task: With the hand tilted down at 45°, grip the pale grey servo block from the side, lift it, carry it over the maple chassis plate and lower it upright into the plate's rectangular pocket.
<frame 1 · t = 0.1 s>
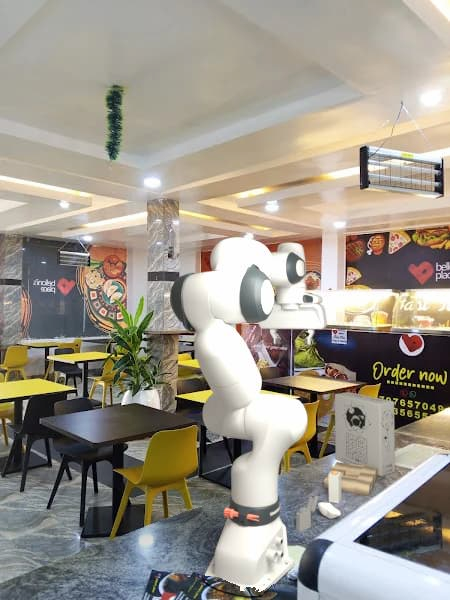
hand: (292, 344, 140), 48 cm above the counter, tool pointing down, fingers open, 8 cm apart
servo: (335, 499, 144), on the counter
dumpling: (329, 517, 133), on the counter
chassis: (351, 482, 157), on the counter
cereal box: (364, 466, 173), on the counter
lighter: (307, 527, 127), on the counter
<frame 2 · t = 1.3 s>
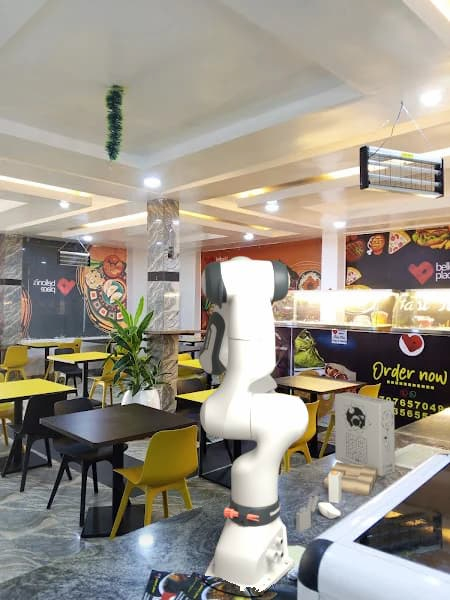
hand: (273, 406, 153), 27 cm above the counter, tool tilted 45°, fingers open, 8 cm apart
nothing on the counter moved.
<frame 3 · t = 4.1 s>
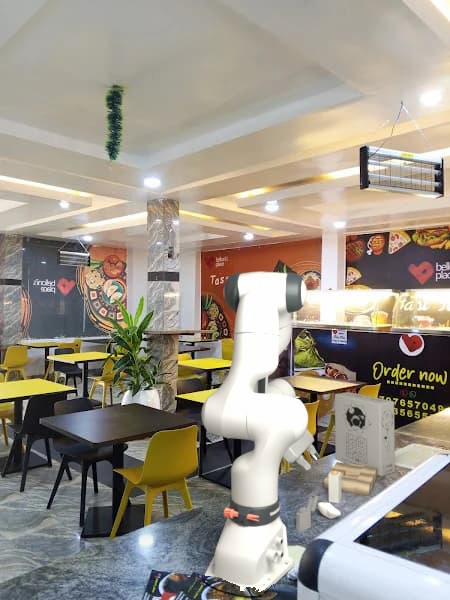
hand: (313, 463, 147), 10 cm above the counter, tool tilted 45°, fingers open, 8 cm apart
nothing on the counter moved.
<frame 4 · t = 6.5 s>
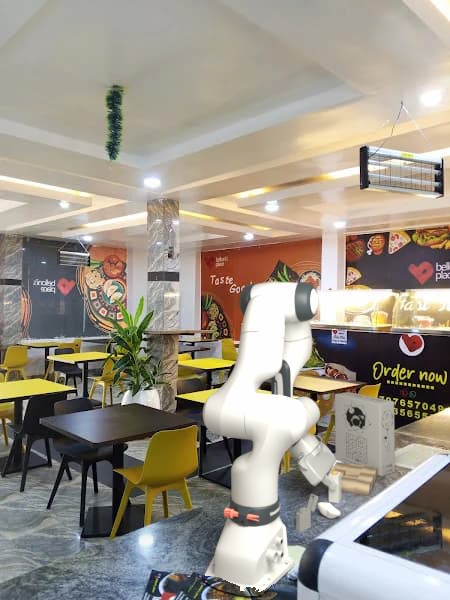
hand: (337, 485, 144), 5 cm above the counter, tool tilted 45°, fingers closed on servo, 4 cm apart
servo: (335, 499, 144), on the counter, touching gripper
everything else where it was.
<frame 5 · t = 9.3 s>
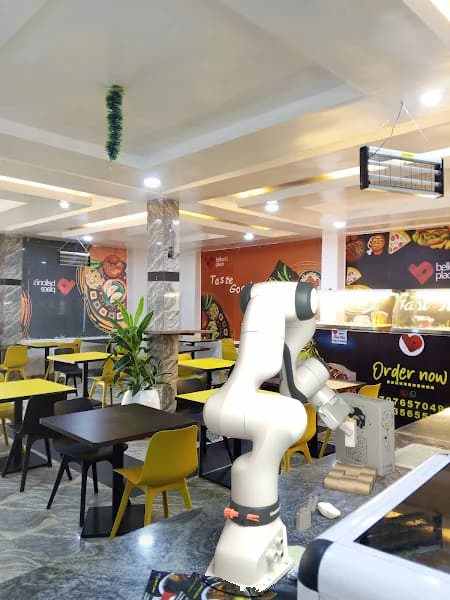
hand: (352, 431, 157), 17 cm above the counter, tool tilted 45°, fingers closed on servo, 4 cm apart
servo: (351, 444, 157), point 13 cm above the counter, touching gripper
everything else where it was.
when the fingers open (7 cm above the counter, at t = 12.1 s): servo drops 1 cm, resting on chassis.
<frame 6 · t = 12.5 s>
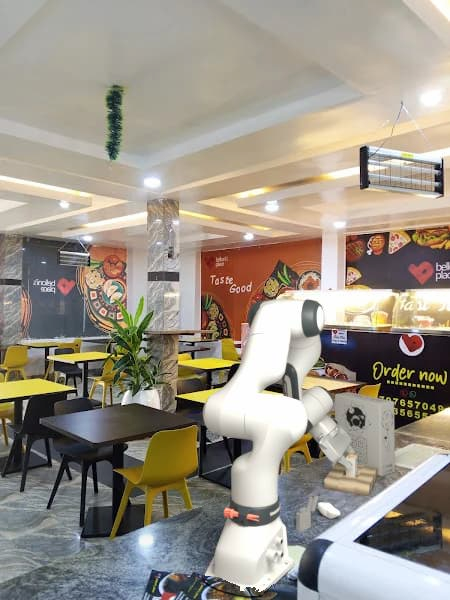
hand: (353, 462, 157), 7 cm above the counter, tool tilted 45°, fingers open, 8 cm apart
servo: (351, 480, 157), point 1 cm above the counter, touching chassis
everything else where it was.
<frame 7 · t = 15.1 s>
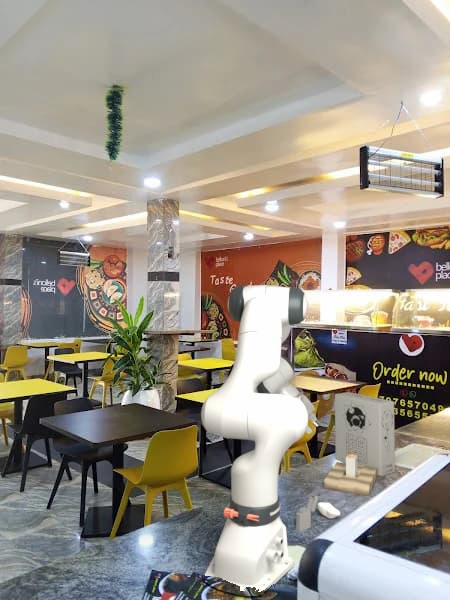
hand: (314, 428, 163), 17 cm above the counter, tool tilted 45°, fingers open, 8 cm apart
nothing on the counter moved.
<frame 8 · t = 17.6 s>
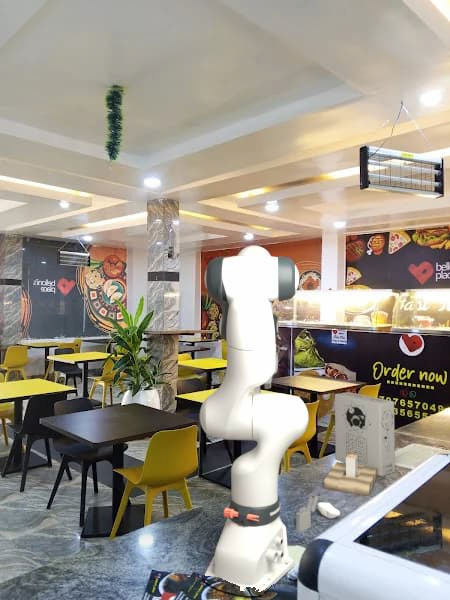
hand: (262, 391, 156), 31 cm above the counter, tool pointing down, fingers open, 8 cm apart
nothing on the counter moved.
at the end: servo 0.1 cm off-centre on the chassis, point 0.6 cm above the chassis's base; servo tilted 0°; the gripper is holding nothing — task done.
